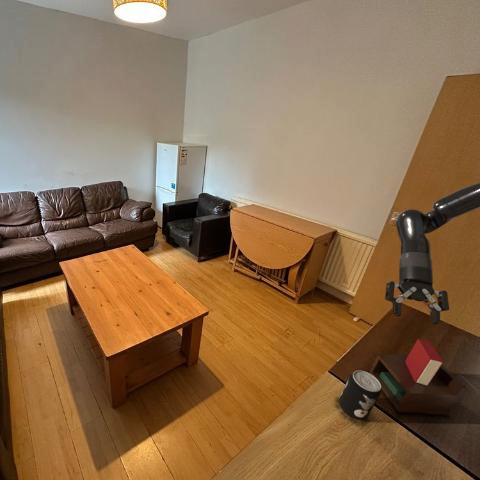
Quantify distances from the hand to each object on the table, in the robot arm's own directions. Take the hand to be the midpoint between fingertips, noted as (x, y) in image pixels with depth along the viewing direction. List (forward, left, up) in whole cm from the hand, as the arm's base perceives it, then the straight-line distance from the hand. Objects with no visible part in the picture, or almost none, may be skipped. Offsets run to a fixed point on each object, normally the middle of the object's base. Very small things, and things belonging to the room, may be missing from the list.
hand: (415, 319), depth 77 cm
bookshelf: (+6, +12, -17) cm, 21 cm away
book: (+6, +12, -9) cm, 16 cm away
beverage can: (+24, +18, -17) cm, 34 cm away
